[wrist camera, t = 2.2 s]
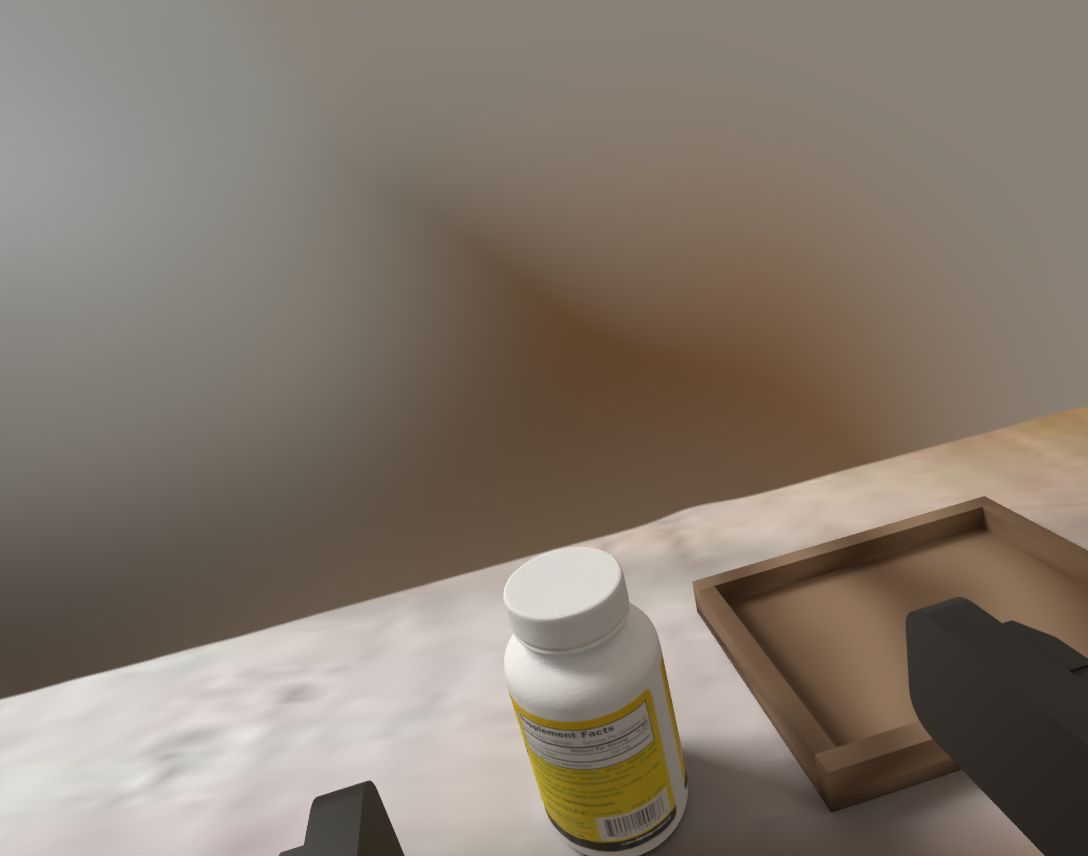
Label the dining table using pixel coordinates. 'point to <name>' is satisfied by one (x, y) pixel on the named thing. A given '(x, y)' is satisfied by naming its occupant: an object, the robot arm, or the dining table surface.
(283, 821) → the dining table surface
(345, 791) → the robot arm
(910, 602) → the tray
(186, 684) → the dining table surface
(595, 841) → the supplement bottle
